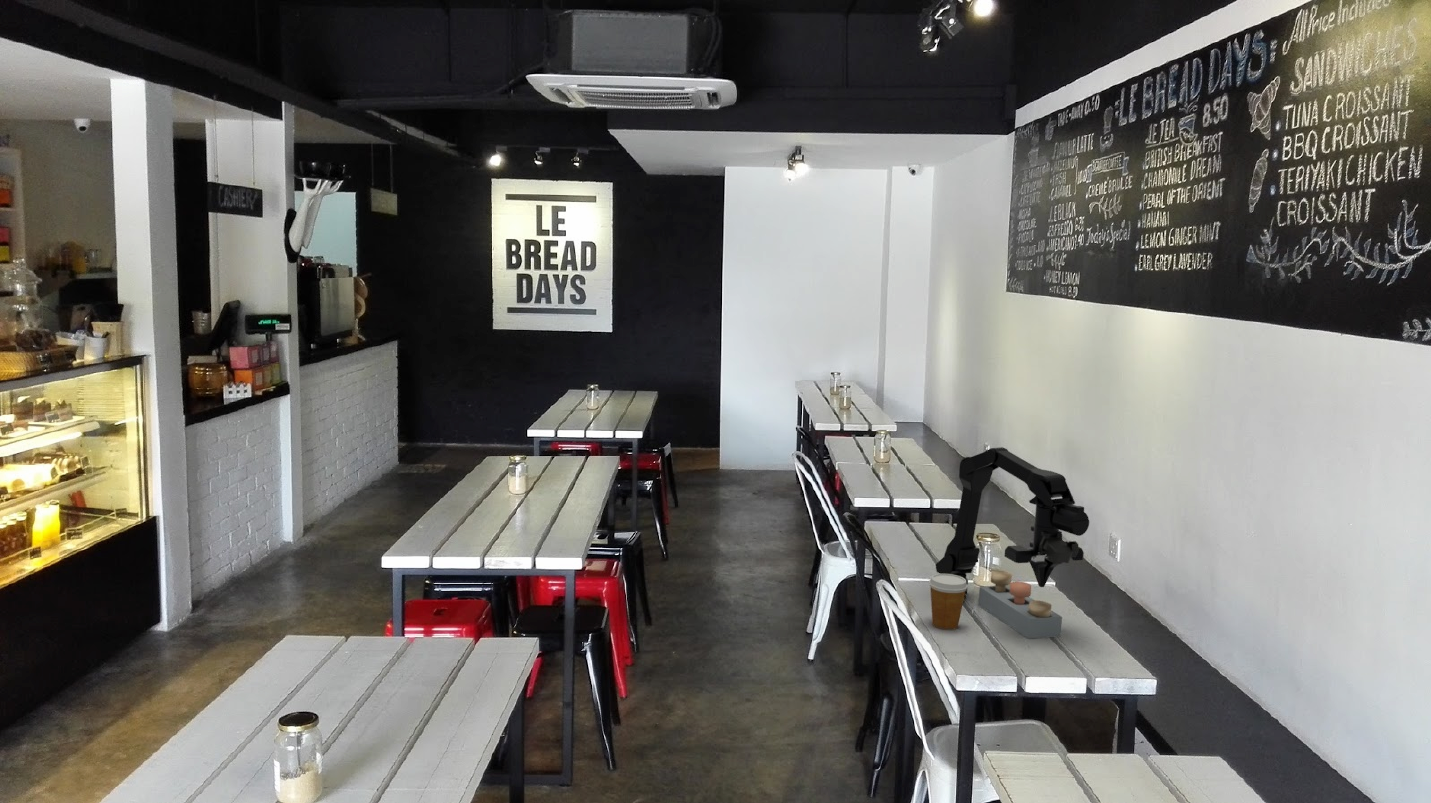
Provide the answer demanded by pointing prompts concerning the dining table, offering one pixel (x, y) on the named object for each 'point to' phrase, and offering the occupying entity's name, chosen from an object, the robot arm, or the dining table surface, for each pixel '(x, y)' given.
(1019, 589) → the knob middle
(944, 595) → the disposable coffee cup
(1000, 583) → the knob
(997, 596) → the grey peg holder block
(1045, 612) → the knob
